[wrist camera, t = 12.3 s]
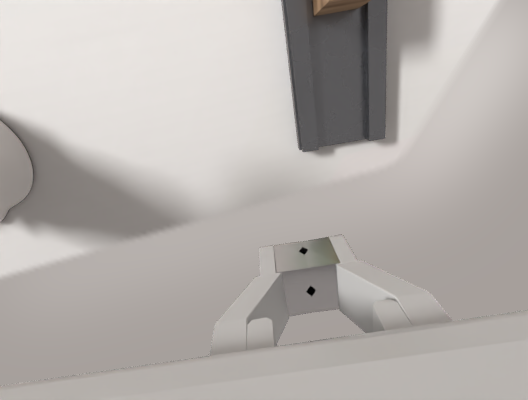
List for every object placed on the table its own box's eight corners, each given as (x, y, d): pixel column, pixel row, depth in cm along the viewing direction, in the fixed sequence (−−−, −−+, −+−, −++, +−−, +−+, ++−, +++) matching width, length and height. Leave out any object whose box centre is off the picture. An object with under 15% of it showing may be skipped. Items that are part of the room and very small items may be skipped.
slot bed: (379, 134, 38) (387, 137, 35) (298, 147, 38) (301, 152, 36) (380, -80, 29) (390, -92, 27) (274, -59, 29) (276, -70, 27)
